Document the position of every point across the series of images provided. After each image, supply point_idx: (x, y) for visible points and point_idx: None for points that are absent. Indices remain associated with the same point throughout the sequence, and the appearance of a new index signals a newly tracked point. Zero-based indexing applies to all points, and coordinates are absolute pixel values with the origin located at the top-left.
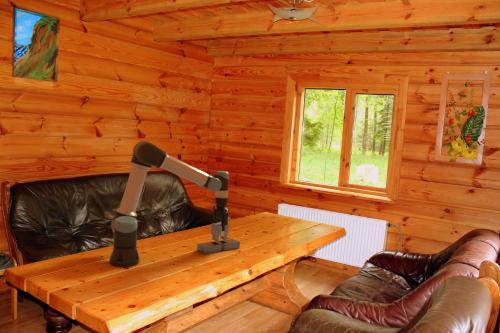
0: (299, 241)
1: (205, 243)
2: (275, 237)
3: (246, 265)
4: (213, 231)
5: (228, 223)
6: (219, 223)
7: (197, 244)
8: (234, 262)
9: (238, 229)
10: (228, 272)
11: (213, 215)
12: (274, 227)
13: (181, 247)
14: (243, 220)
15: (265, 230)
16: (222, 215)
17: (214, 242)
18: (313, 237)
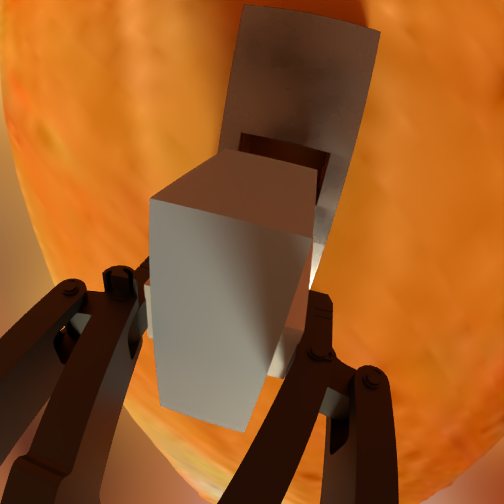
0: (172, 447)
1: (339, 96)
2: None
3: (14, 113)
4: (252, 167)
5: (161, 398)
6: (201, 336)
7: (376, 31)
8: (51, 88)
9: (402, 462)
10: (10, 3)
11: (395, 480)
12: (318, 495)
13: (498, 50)
14: (423, 491)
15: (320, 482)
16: (42, 442)
17: (318, 201)
18: (185, 470)
